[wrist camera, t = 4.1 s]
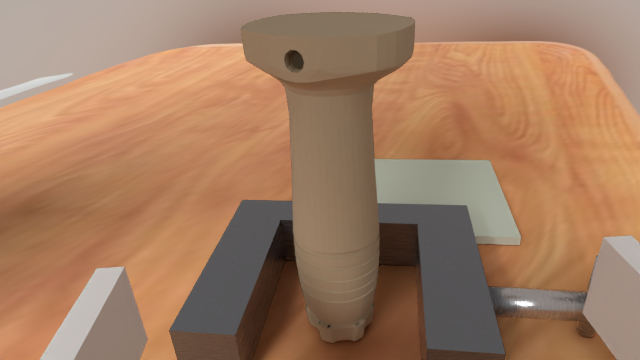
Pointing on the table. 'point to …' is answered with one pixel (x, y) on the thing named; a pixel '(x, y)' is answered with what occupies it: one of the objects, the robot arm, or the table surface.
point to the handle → (333, 150)
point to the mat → (451, 192)
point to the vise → (394, 249)
